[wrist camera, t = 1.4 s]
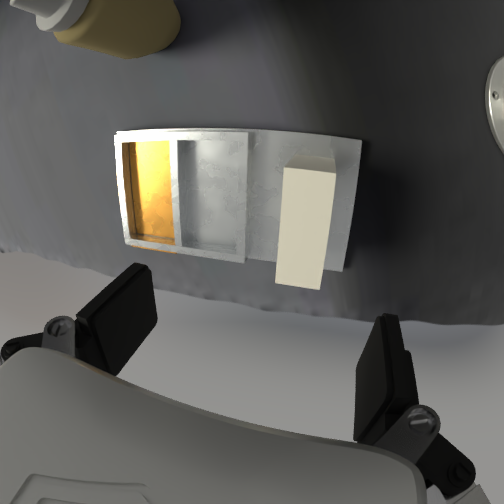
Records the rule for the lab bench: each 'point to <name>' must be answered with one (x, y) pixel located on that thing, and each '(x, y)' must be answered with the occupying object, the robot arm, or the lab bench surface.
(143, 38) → the squeeze bottle
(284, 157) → the grey framed tray board
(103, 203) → the lab bench surface
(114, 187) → the lab bench surface
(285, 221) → the tall ivory prism
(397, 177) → the lab bench surface
